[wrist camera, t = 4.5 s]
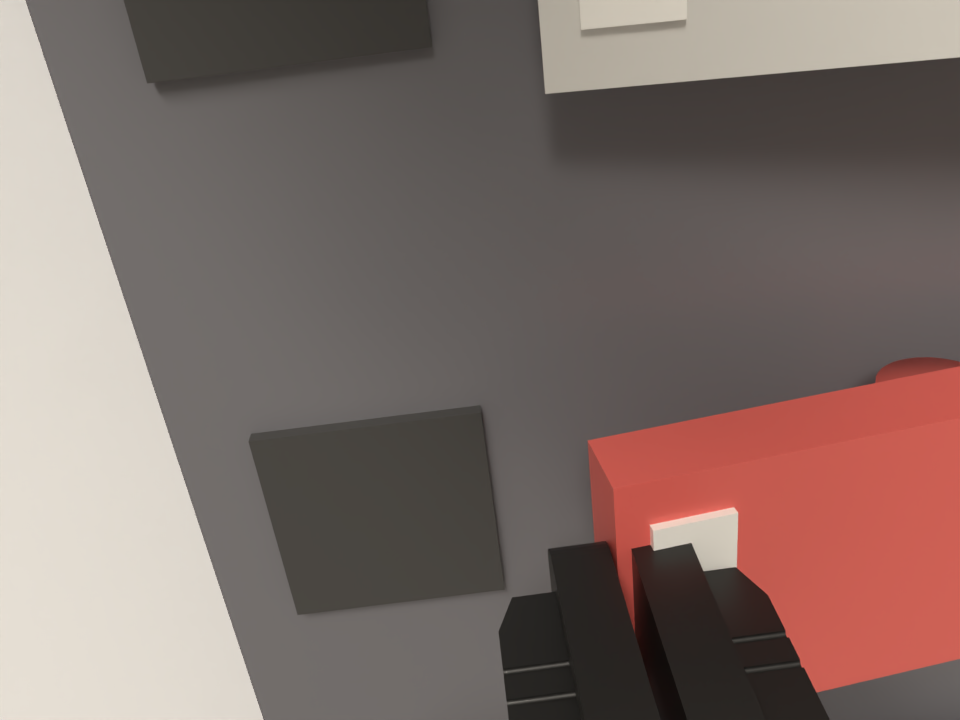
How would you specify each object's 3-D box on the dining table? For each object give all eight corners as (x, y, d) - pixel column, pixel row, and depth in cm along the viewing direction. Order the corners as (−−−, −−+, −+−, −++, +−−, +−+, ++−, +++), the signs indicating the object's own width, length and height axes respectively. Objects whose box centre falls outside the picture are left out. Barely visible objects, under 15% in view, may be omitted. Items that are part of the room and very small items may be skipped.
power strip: (1251, -659, 11) (1684, -939, 7) (961, 749, 23) (1065, 920, 19) (5, -491, 11) (-210, -680, 7) (366, 821, 23) (354, 1004, 19)
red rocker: (1214, 285, 12) (1349, 343, 11) (1144, 518, 14) (1251, 597, 13) (571, 411, 11) (616, 495, 10) (590, 642, 13) (629, 744, 12)
